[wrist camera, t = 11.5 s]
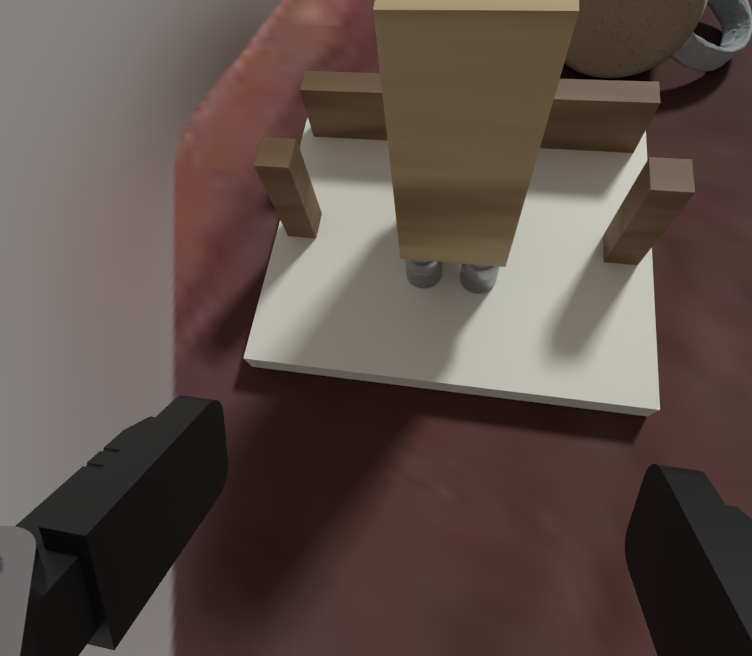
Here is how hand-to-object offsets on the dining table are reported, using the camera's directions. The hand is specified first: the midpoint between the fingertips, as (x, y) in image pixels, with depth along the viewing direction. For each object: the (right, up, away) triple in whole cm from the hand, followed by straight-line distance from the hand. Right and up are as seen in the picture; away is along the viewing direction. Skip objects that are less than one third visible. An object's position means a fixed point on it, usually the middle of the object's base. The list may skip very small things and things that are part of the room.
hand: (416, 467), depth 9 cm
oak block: (+3, +8, +11) cm, 13 cm away
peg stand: (+3, +6, +14) cm, 16 cm away
